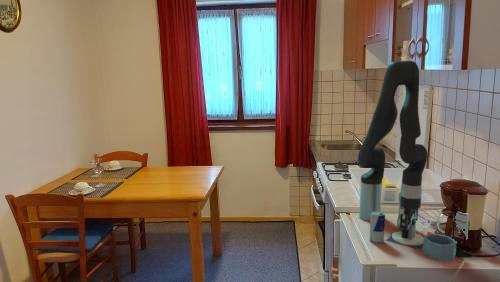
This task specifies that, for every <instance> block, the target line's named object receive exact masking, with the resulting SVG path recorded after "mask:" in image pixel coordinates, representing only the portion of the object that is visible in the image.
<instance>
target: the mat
mask: <svg viewBox="0 0 500 282" xmlns="http://www.w3.org/2000/svg"><path fill="white" fill-rule="evenodd" d="M399 231H400V230H396V231H395V232H399ZM422 237H423V238H424V237H425V236H422ZM385 241H386V242H390V243H393V244H397V245H400V246H404V247H408V248H412V249H416V250H421V249H423V245H420V246H408V245H403V244H400V243H397V242H395V241H394V240H393V239H392V234H391V235H390V236H389V237H388V238H386V239H385Z"/></svg>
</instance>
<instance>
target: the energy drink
mask: <svg viewBox="0 0 500 282" xmlns="http://www.w3.org/2000/svg"><path fill="white" fill-rule="evenodd" d="M385 221H386V214H385V213H384V212H383V211H381V210H380V211H373V212H371V219H370V221H369V223H370V224H369V239H368V240H369V243H371V244H372V245H383V244H384V242H385V228H386V227H385V226H386V224H385V223H386V222H385Z"/></svg>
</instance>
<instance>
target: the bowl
mask: <svg viewBox="0 0 500 282" xmlns="http://www.w3.org/2000/svg"><path fill="white" fill-rule="evenodd" d="M423 237H424V241H423V247H422V253H423V254H424V255H425V256H427V257H428V258H430V259H433V260H438V261H440V262H441V261H442V262H446V261H447V262H448V261H449V262H450V261H454V259H455V258H456V256H457V255H456V253H457V246H456V244H457V241H455V240H454V239H452V237H451V236H447V235H443V234H439V233H431V234H429V233H428V234H425V236H423Z"/></svg>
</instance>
